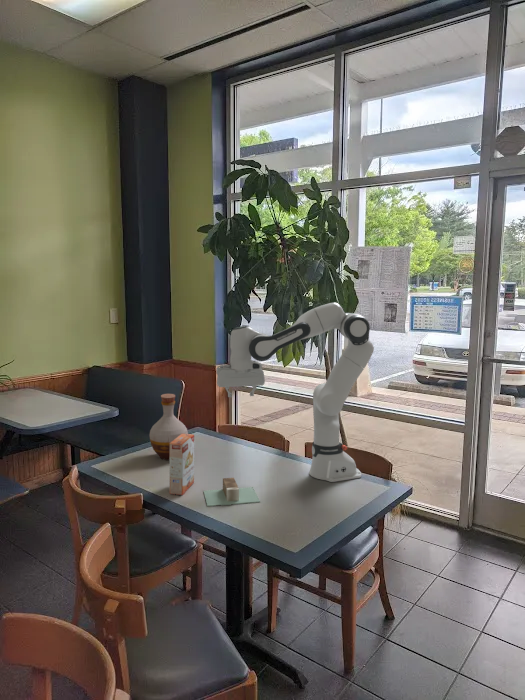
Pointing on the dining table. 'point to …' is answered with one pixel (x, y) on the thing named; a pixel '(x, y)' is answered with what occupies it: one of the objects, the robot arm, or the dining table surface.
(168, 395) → the jug
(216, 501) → the rubber mat
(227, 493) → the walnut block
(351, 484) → the dining table surface
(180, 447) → the cracker box
